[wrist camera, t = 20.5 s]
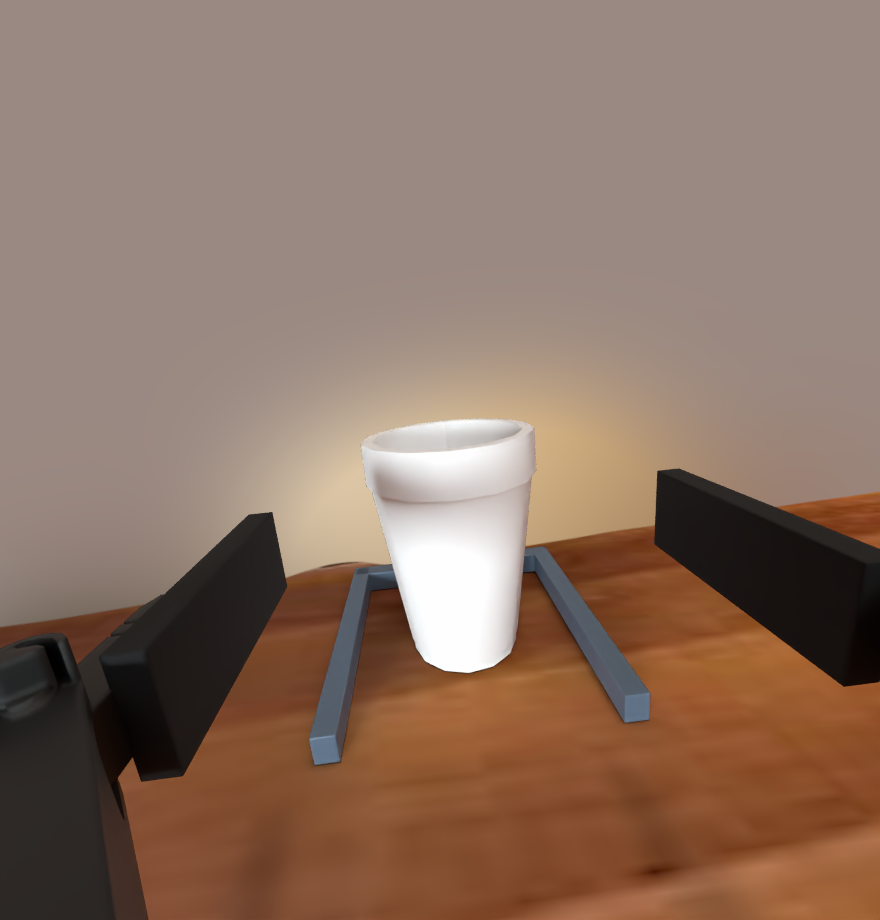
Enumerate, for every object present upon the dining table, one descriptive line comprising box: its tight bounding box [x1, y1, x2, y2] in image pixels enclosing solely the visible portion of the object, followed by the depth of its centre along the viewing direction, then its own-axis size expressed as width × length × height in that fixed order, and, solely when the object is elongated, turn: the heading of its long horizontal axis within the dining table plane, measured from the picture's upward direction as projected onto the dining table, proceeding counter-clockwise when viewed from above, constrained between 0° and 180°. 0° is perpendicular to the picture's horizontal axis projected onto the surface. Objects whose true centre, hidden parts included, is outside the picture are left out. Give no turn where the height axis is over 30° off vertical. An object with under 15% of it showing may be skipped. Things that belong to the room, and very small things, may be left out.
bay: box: [309, 546, 650, 765], centre depth 26 cm, size 15×15×2 cm
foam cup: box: [361, 419, 536, 673], centre depth 24 cm, size 10×9×13 cm
